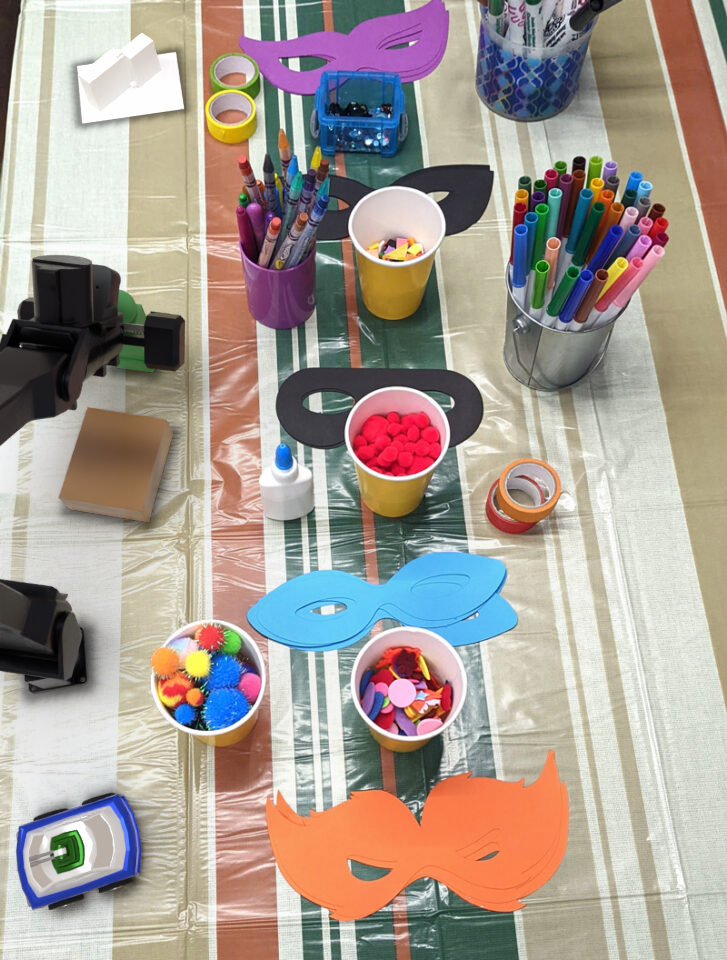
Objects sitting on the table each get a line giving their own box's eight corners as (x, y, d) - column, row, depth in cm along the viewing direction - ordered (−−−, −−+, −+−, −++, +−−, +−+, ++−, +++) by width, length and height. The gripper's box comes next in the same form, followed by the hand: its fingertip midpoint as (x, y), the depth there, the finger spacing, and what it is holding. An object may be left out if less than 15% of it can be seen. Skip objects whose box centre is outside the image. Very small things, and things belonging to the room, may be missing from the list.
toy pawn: (153, 372, 114) (128, 319, 102) (115, 368, 114) (86, 314, 102) (162, 338, 116) (138, 282, 103) (124, 334, 116) (96, 277, 104)
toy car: (24, 823, 94) (-12, 823, 86) (134, 786, 96) (110, 783, 87) (39, 915, 91) (4, 925, 82) (153, 876, 92) (130, 882, 84)
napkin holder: (82, 124, 128) (70, 94, 123) (76, 66, 132) (63, 34, 127) (185, 108, 129) (177, 77, 124) (175, 51, 134) (167, 18, 128)
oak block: (149, 522, 106) (141, 511, 103) (68, 509, 107) (58, 498, 103) (173, 432, 111) (166, 419, 107) (96, 420, 111) (87, 406, 108)
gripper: (163, 286, 91) (203, 259, 105) (-14, 265, 92) (50, 242, 106) (162, 389, 95) (201, 350, 109) (-6, 369, 96) (54, 332, 110)
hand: (127, 317), depth 109 cm, fingers open, 9 cm apart
